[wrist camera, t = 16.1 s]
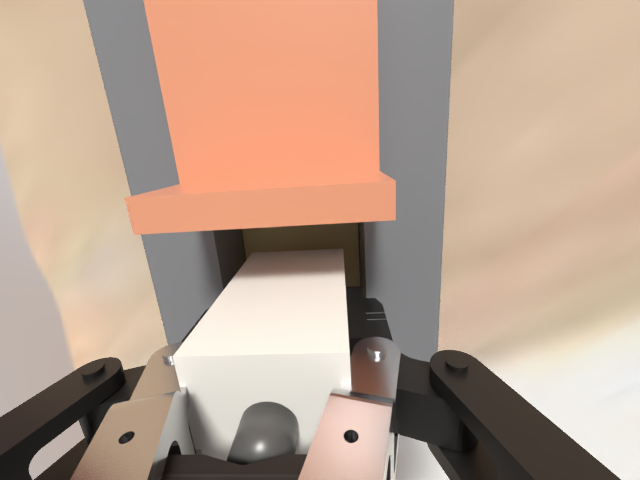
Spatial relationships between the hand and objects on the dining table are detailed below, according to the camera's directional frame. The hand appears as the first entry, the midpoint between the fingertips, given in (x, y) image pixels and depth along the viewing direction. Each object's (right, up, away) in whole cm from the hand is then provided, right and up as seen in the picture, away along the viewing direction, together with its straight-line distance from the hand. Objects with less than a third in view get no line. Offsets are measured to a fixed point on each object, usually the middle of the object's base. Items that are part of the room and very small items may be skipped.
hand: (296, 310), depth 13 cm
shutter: (-1, +8, -2) cm, 9 cm away
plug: (0, 0, +1) cm, 2 cm away
